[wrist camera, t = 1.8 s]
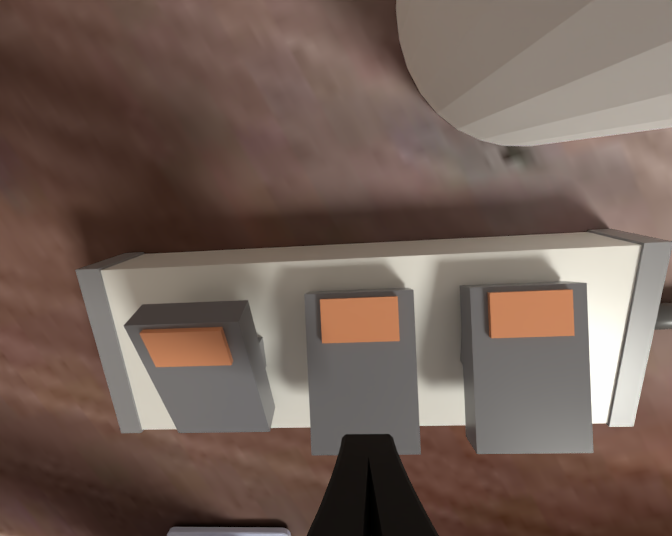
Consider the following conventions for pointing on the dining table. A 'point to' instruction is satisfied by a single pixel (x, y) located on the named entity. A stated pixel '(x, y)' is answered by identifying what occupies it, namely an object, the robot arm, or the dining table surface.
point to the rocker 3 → (526, 367)
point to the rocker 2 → (362, 367)
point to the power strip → (378, 273)
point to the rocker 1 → (205, 364)
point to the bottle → (541, 66)
